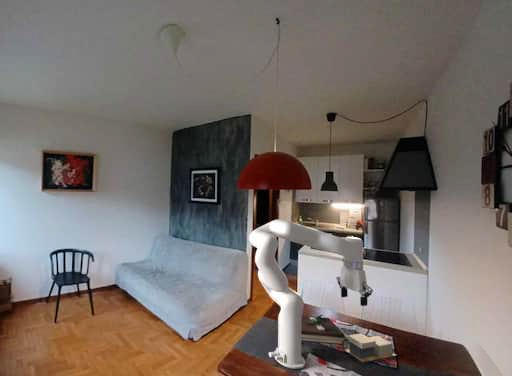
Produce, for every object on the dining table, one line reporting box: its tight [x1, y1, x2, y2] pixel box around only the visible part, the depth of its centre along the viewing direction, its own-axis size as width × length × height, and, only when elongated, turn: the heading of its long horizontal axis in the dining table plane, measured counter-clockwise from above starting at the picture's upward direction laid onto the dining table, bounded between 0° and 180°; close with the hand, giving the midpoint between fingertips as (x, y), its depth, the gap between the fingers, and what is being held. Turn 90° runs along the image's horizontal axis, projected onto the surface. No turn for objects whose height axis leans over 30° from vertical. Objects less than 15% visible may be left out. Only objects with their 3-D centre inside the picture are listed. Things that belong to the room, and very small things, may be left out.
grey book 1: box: [349, 341, 374, 353], centre depth 120 cm, size 8×5×2 cm, turn 104°
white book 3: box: [374, 348, 394, 356], centre depth 122 cm, size 8×7×2 cm
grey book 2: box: [349, 346, 374, 358], centre depth 120 cm, size 8×5×2 cm, turn 104°
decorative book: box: [301, 314, 345, 346], centre depth 137 cm, size 19×8×30 cm
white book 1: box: [347, 332, 376, 349], centre depth 120 cm, size 8×7×2 cm
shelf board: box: [344, 348, 397, 363], centre depth 121 cm, size 20×9×2 cm, turn 104°
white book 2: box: [368, 335, 393, 351], centre depth 122 cm, size 8×7×2 cm
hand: (353, 301), depth 121 cm, fingers open, 9 cm apart
